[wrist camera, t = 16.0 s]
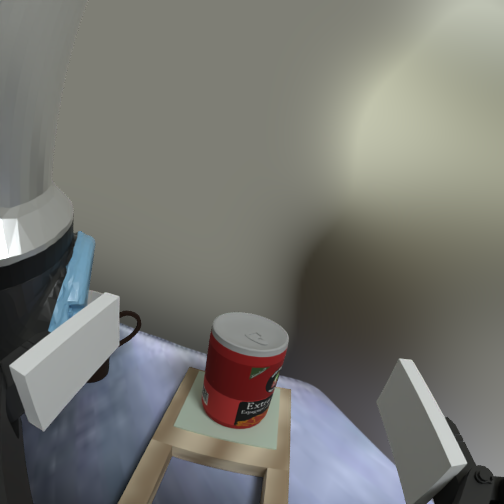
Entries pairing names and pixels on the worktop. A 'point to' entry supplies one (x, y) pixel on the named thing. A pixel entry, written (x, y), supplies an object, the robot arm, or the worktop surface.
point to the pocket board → (216, 444)
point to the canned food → (242, 368)
